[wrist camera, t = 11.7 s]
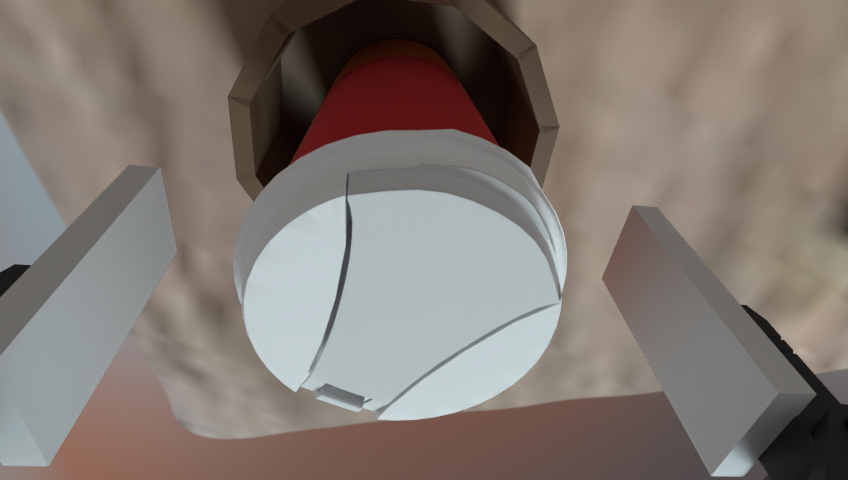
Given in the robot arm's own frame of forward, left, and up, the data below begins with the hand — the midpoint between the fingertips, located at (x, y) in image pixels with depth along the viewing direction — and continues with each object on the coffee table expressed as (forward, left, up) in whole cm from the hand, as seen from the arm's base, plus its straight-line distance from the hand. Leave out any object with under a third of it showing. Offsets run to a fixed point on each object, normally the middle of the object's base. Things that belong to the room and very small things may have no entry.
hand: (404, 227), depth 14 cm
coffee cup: (0, 0, -11) cm, 12 cm away
